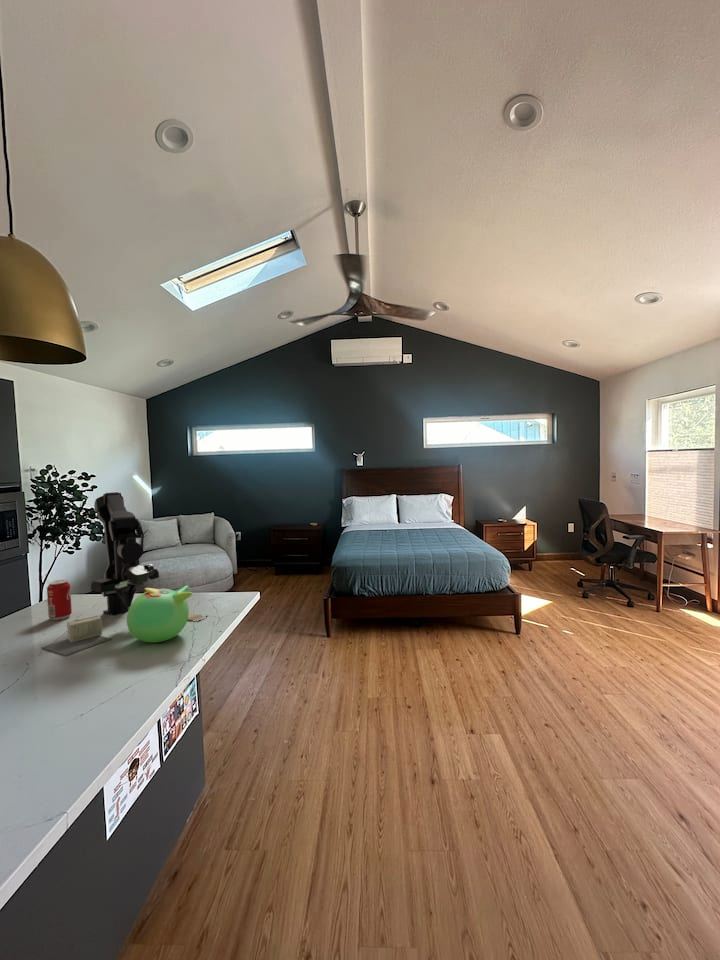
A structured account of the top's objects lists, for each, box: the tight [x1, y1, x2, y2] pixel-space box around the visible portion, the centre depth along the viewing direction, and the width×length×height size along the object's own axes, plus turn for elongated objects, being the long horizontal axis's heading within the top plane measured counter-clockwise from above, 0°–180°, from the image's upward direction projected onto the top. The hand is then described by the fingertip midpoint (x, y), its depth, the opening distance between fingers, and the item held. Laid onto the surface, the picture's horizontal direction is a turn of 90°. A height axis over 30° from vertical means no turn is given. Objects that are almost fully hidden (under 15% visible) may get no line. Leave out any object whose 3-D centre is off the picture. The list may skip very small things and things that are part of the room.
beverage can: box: [46, 579, 73, 621], centre depth 145 cm, size 6×6×12 cm
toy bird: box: [126, 585, 193, 644], centre depth 124 cm, size 18×17×15 cm
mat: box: [41, 635, 112, 657], centre depth 122 cm, size 12×12×1 cm
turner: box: [188, 613, 203, 622], centre depth 141 cm, size 14×5×1 cm, turn 76°
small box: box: [66, 614, 103, 643], centre depth 126 cm, size 5×4×8 cm
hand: (128, 607), depth 136 cm, fingers closed
